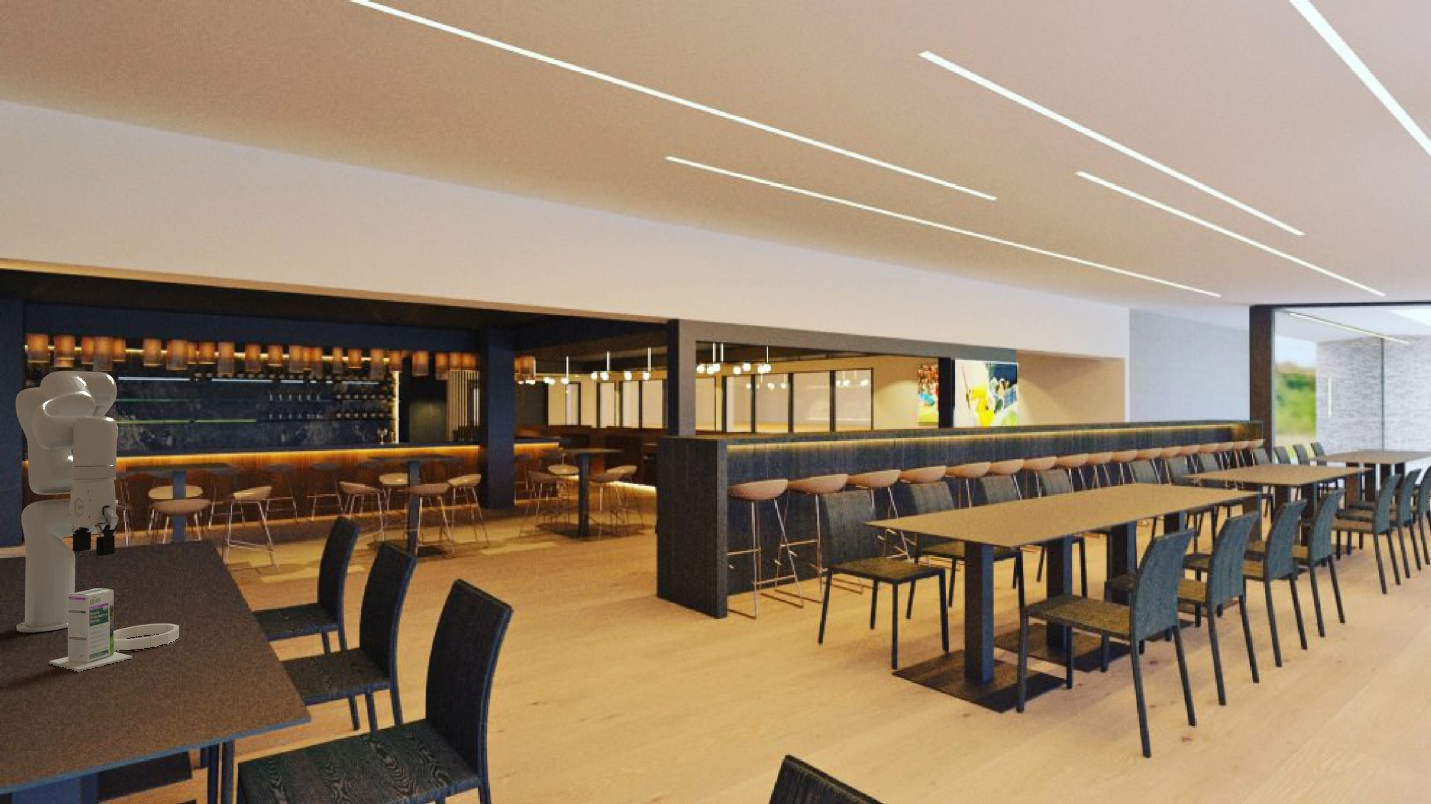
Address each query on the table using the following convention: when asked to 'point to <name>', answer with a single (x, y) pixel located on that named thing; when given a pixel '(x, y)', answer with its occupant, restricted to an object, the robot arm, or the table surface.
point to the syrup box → (90, 625)
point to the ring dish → (165, 637)
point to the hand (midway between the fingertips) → (93, 552)
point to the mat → (96, 663)
